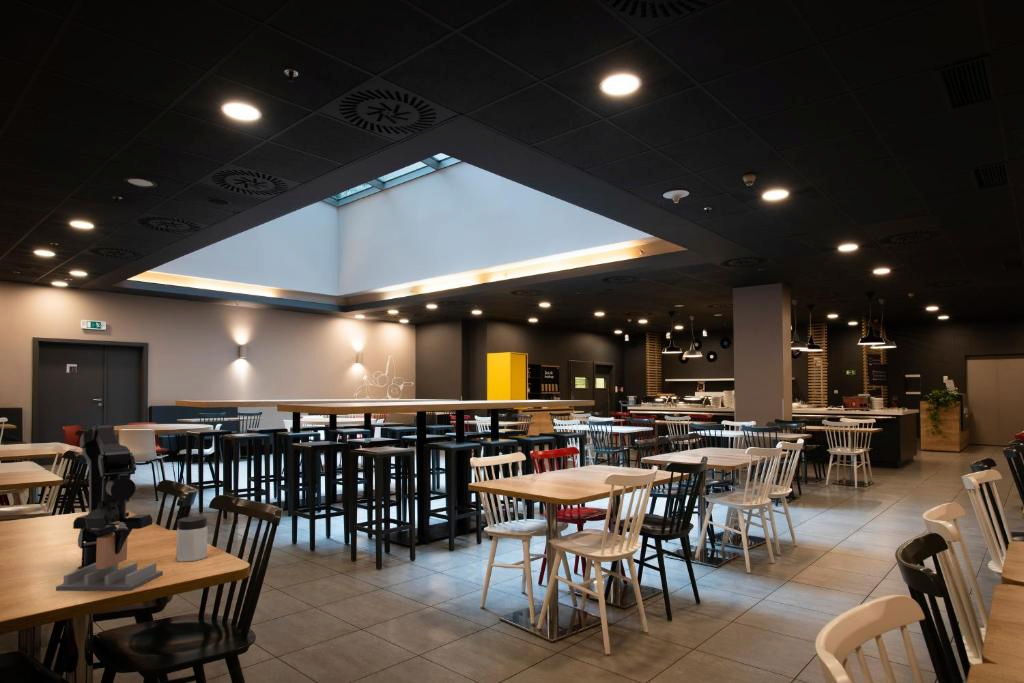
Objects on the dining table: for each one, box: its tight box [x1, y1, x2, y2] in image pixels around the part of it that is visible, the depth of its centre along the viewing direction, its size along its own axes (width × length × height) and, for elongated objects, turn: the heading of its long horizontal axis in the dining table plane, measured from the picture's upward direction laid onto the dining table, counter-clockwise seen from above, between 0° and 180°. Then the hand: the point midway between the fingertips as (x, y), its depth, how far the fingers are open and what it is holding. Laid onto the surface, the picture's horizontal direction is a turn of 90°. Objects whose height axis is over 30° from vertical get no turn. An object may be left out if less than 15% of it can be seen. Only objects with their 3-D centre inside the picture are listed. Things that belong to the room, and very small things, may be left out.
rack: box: [55, 562, 164, 592], centre depth 171 cm, size 20×14×4 cm
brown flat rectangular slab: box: [96, 532, 129, 569], centre depth 172 cm, size 2×9×8 cm, turn 178°
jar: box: [175, 515, 208, 563], centre depth 195 cm, size 9×8×12 cm
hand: (112, 553), depth 172 cm, fingers closed on brown flat rectangular slab, 2 cm apart
